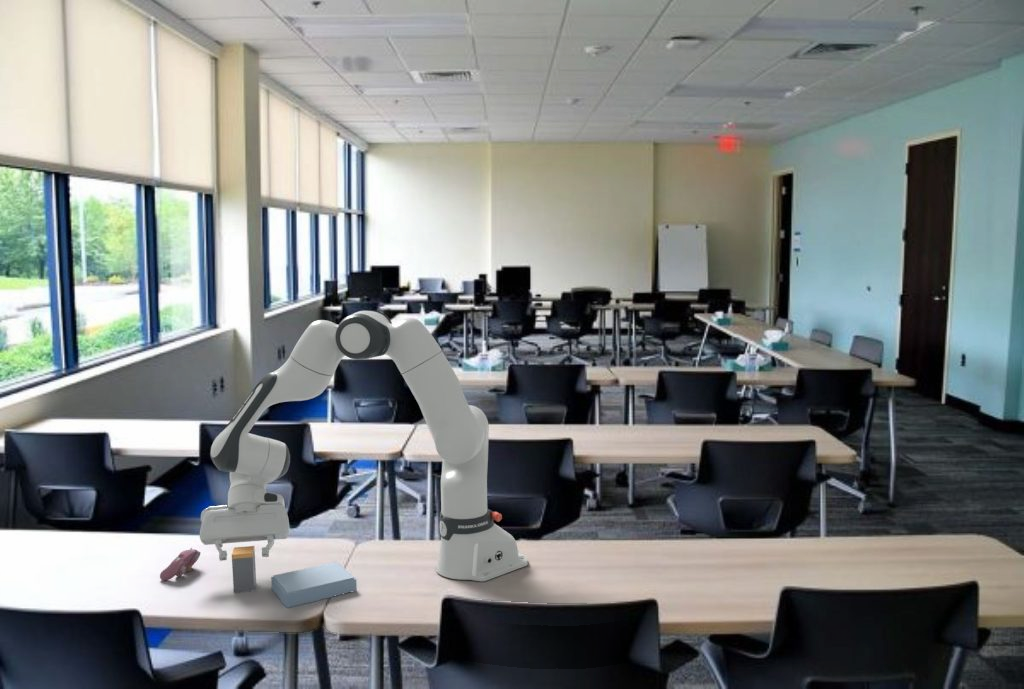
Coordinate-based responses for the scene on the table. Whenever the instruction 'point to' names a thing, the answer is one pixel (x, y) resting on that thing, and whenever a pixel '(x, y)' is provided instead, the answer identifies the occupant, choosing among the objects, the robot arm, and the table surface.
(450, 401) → the robot arm
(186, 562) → the video game controller
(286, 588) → the stand
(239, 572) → the block
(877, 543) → the table surface
